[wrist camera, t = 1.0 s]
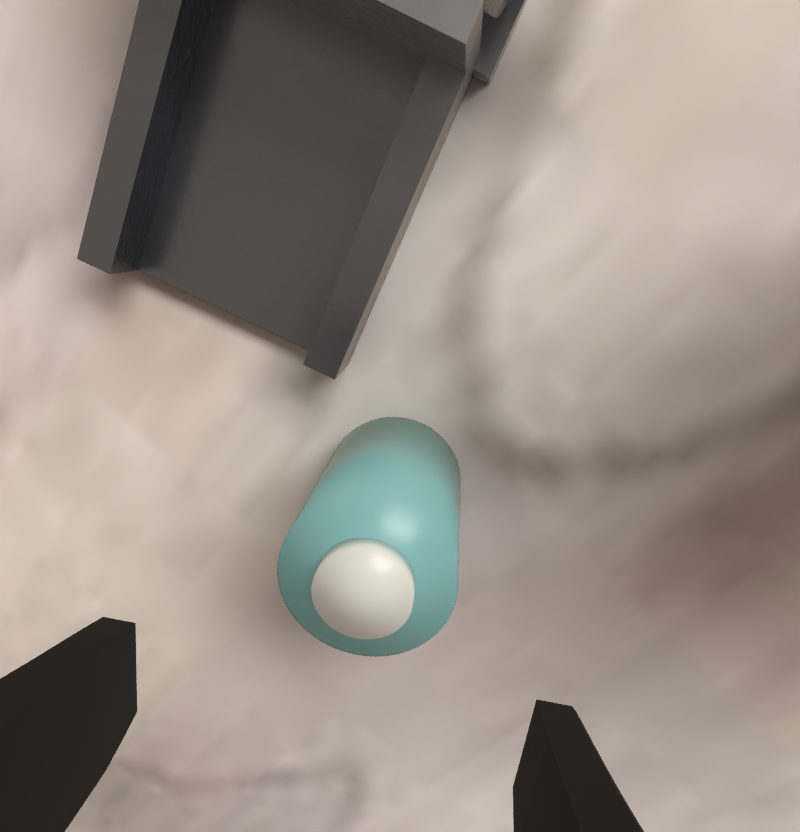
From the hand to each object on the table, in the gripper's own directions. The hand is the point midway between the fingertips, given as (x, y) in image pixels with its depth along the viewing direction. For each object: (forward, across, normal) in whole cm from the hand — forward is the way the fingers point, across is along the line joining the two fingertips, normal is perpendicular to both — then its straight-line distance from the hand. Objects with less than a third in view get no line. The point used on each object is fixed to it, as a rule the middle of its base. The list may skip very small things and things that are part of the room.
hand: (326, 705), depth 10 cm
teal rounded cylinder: (+10, 0, 0) cm, 10 cm away
